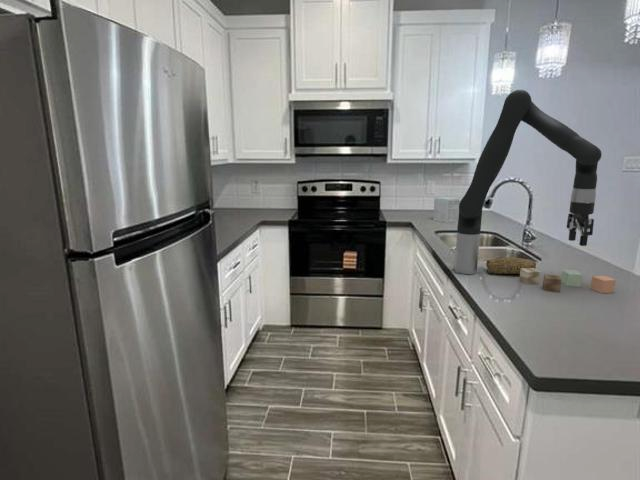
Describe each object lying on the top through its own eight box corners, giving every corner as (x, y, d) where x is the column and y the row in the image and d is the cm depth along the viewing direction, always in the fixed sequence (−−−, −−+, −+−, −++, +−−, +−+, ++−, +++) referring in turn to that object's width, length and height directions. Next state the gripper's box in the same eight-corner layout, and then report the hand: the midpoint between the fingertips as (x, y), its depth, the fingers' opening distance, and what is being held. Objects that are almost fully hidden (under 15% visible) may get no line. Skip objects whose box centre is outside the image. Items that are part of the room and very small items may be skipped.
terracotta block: (602, 293, 140) (604, 280, 139) (590, 289, 145) (592, 276, 144) (613, 292, 141) (615, 279, 140) (601, 288, 146) (603, 275, 145)
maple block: (526, 284, 151) (527, 272, 150) (519, 280, 156) (520, 268, 154) (538, 284, 151) (540, 271, 150) (531, 279, 156) (532, 268, 155)
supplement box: (458, 221, 285) (460, 198, 281) (446, 223, 279) (448, 199, 275) (444, 219, 296) (446, 196, 293) (432, 220, 290) (434, 197, 286)
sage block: (566, 286, 148) (568, 274, 147) (560, 282, 153) (562, 270, 152) (580, 286, 147) (582, 274, 146) (574, 282, 152) (576, 270, 151)
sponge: (489, 278, 161) (542, 273, 155) (486, 260, 161) (539, 254, 155) (486, 275, 174) (535, 269, 168) (483, 258, 174) (532, 252, 168)
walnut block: (544, 290, 144) (545, 278, 142) (542, 286, 148) (544, 274, 147) (559, 292, 142) (561, 279, 140) (557, 288, 146) (559, 275, 145)
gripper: (562, 198, 150) (558, 238, 154) (581, 203, 137) (575, 247, 140) (583, 198, 149) (578, 239, 153) (604, 203, 135) (598, 247, 139)
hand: (577, 243), depth 146 cm, fingers open, 8 cm apart
